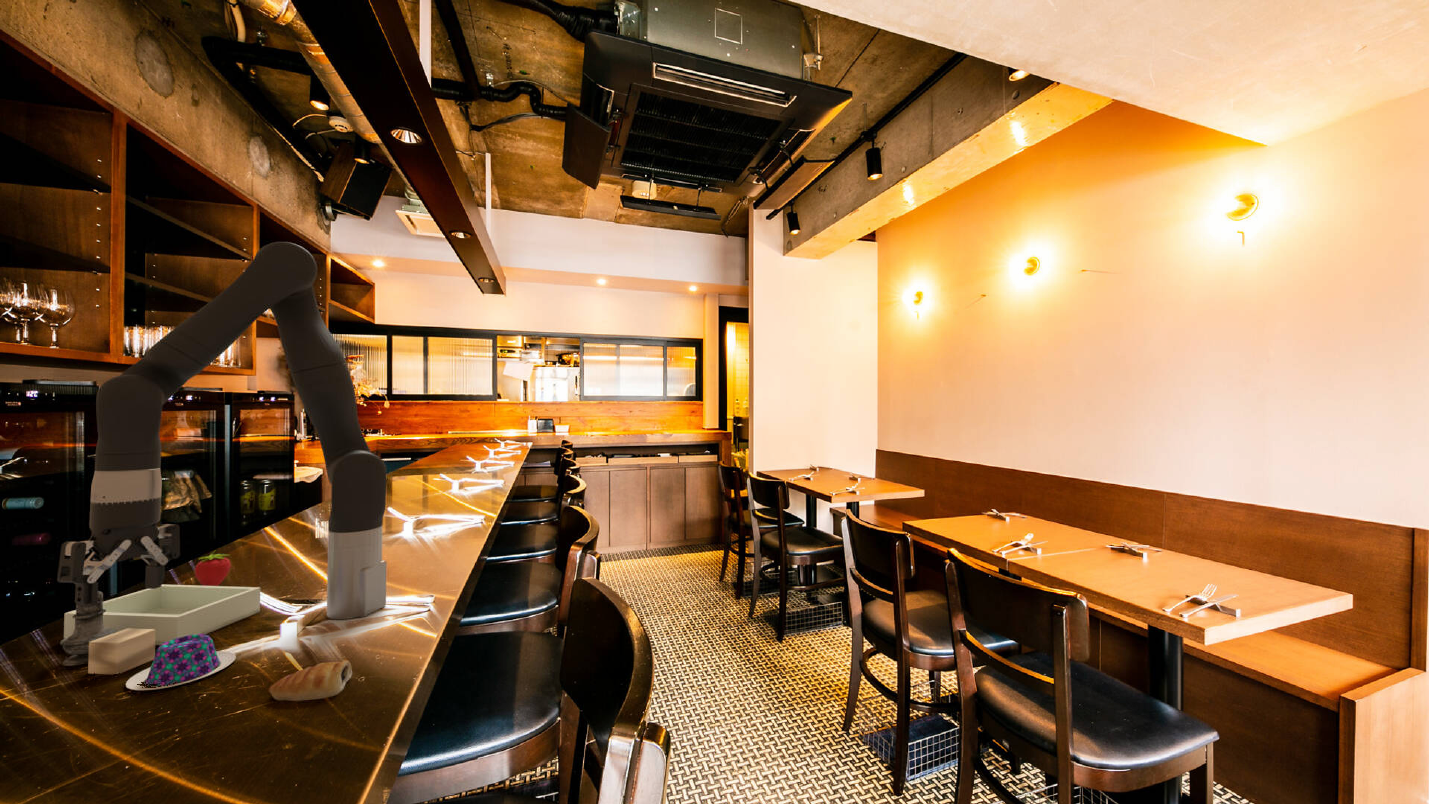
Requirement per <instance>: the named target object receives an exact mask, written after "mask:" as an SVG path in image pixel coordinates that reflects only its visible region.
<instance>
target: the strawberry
mask: <svg viewBox="0 0 1429 804" xmlns="http://www.w3.org/2000/svg"><path fill="white" fill-rule="evenodd" d="M214 553H215V551H213V552H212V553H210V555H207V556H201V557H200V558H198V560H201V561H199V562H198V563H197V564H196V565H195V567H194V574H195V577H196V580H197V581H198V582H199V583H200V584H201V586H220V584H222V582H223V581H224V579H225V578H227V576H228V574H229V572H230V569H231V568H232V567H231V566H232V565H231V561H230V559H229V558H227V556H230V554H222V553H217V554H214Z"/></svg>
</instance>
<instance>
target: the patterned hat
mask: <svg viewBox="0 0 1429 804" xmlns="http://www.w3.org/2000/svg"><path fill="white" fill-rule="evenodd" d="M158 646H159V647H158V648H157V649H156V650H155V657H154V660H152V664H151V666H150V667H148V668H146V669H143V670H141V671H139V672H138V673H136V674H134V675H132V676H130V678H129V679H128V680H126V683H125V687H126V688H127V689H130V690H133V691H134V690H135V691H151V690H160V689H165V688H166V689H167V688H172V687H176V686H180V685H181V686H182V685H184V684H187V683H188V684H189V683H191V682H194V681H197V680H199V679H203V678H206V677H208V676H211V675H213V674H215V673H217V672H219V671H221V670H223V669H225V668H227V667H228V666H229V665H231V664H232V663H233V662H234V661H236V658H237V657H236V656H237V655H236V654H235V653H234V652H231V651H223V650H221V651H220V650H216V647H215V643H214V641H213V639H212V638H211V637H210V635H207V634H198V635H188V636H184V637H180V638H176V639H172V640H170V641H169V642H166V643H163V644H162V645H158ZM216 667H217V668H216ZM141 682H144V683H145V685H146V684H148V685H147V686H150V685H149V684H157V685H156V686H155V687H156V688H145V687H146V686H145V687H144V686H140V685H137V684H142V683H141ZM175 682H176V683H175ZM169 684H170V685H169ZM173 684H174V685H173ZM164 685H165V686H164ZM167 685H168V686H167ZM158 686H161V687H158ZM142 687H143V688H142Z"/></svg>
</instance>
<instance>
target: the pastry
mask: <svg viewBox="0 0 1429 804" xmlns="http://www.w3.org/2000/svg"><path fill="white" fill-rule="evenodd" d="M352 676H353V671H352V666H351V663H350V661H349V660H347V659H343V660H342V661H334V662H333V661H328V662H320V663H318V664H316V665H314V666H308V667H305V668H304V669H300V670H297V671H295V672H294V673H290V674H288V675H286V676H284V677H282V678H281V679H279V680H278V681H276V682H275V683H274V684H272V685H270V687H269V693H270V694H271V696H272V698H273V699H274V700H277V701H288V702H289V701H291V702H301V701H309V700H320V699H326V698H330V697H334V696H337V695H338V694H340V693H341V692H342V691H343V690H344V689H345V687H346V684H347V682H349V680H350V679H351V678H352Z"/></svg>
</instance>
